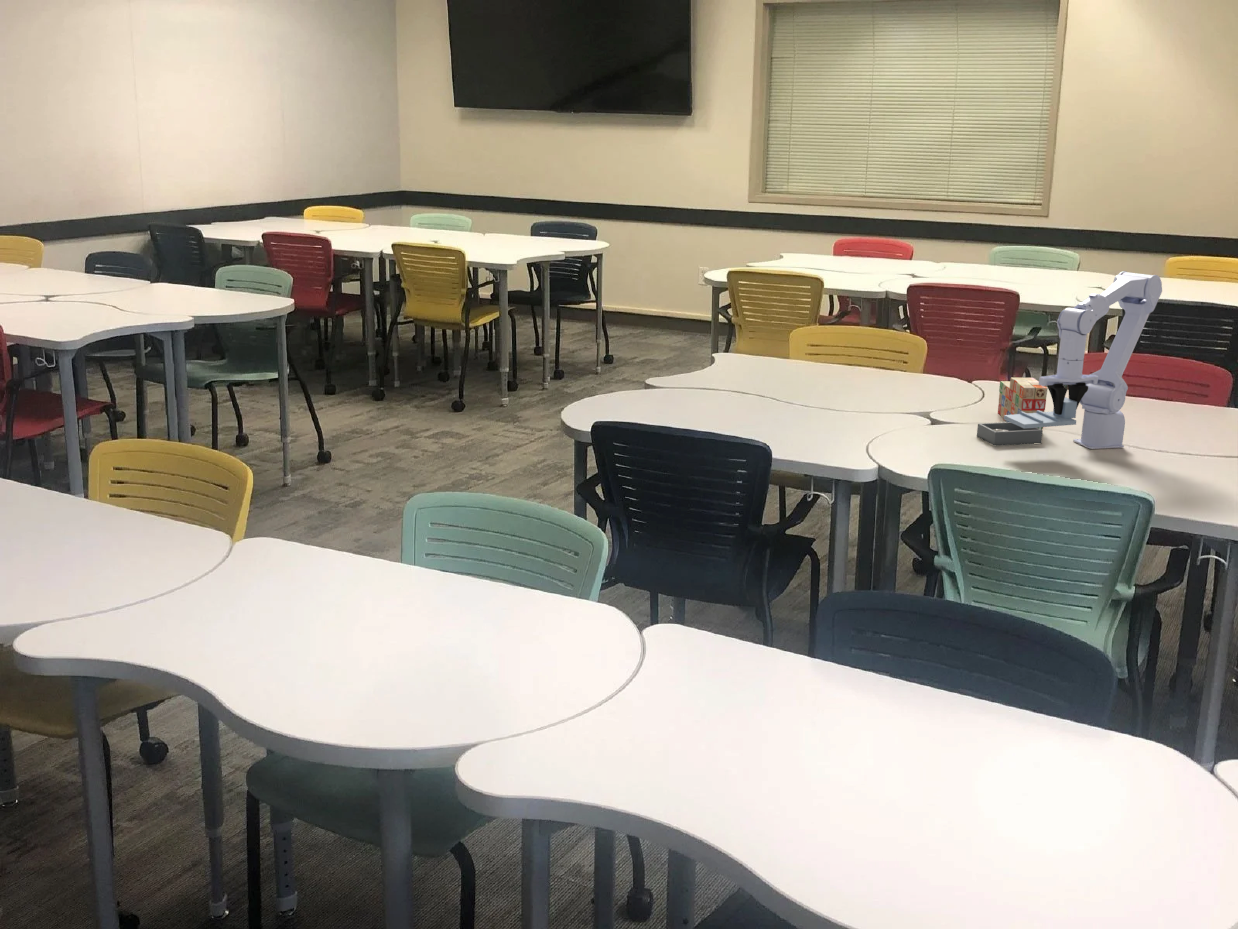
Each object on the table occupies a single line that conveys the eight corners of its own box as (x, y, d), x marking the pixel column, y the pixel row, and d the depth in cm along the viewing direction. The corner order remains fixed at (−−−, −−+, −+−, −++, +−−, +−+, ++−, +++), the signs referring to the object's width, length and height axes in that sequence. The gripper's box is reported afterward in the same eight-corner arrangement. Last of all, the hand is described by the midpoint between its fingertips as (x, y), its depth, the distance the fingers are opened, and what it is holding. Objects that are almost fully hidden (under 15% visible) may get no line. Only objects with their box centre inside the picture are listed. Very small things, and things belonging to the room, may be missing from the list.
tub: (1022, 434, 311) (1024, 421, 310) (1041, 443, 302) (1042, 430, 301) (976, 436, 308) (977, 423, 307) (993, 445, 300) (995, 432, 299)
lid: (1058, 414, 296) (1060, 395, 294) (1080, 424, 287) (1082, 403, 285) (1003, 419, 293) (1005, 399, 292) (1024, 428, 284) (1025, 408, 283)
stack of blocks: (996, 413, 334) (1001, 370, 330) (1019, 413, 334) (1023, 370, 330) (1018, 432, 313) (1023, 386, 310) (1042, 433, 313) (1048, 387, 310)
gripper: (1088, 354, 292) (1082, 408, 296) (1034, 356, 289) (1028, 410, 293) (1105, 360, 285) (1098, 415, 289) (1050, 361, 282) (1044, 417, 286)
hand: (1064, 413), depth 290 cm, fingers closed on lid, 3 cm apart
